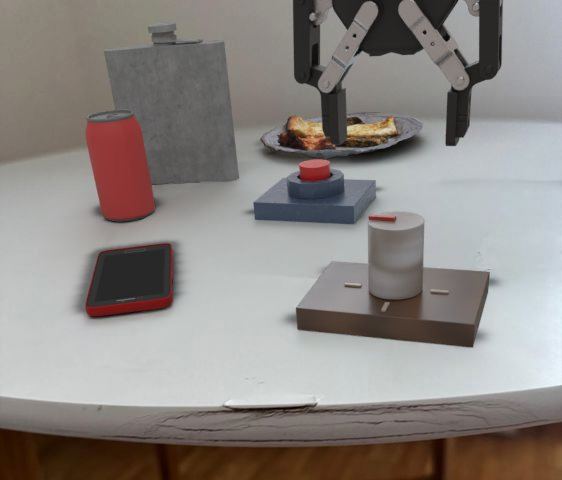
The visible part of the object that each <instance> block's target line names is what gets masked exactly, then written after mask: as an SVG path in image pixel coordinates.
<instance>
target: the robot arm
mask: <svg viewBox="0 0 562 480" xmlns="http://www.w3.org/2000/svg"><path fill="white" fill-rule="evenodd" d="M463 1H464V2H465V3H466V6H467V11H468V13H469V14H470V15H471V16H472V17H478V60H476V61H474V62H472V63H469V61H468V59H467V58H466V57H465V55H464V54H463V52H462V50H461V49H460V47H459V44H458V42H457V41H456V39H455V38H454V36H453V35H452V33H451V31H449V29H448V27H447V26H446V25H445V22H446V20H447V19H448V18H449V16H450V15H451V13H452V11H454V8H455V7H456V6H457V4H458V3H459V0H292V29H293V30H292V31H293V32H292V33H293V35H292V37H293V39H292V40H293V78H294V80H295V82H296V83H298V84H301V85H304V84H305V85H308V86H310V87H314V88H315V89H316V90H317V91H318V92H319V95H320V110H321V117H322V130H323V132H324V135H325V137H330V142H331V145H341V144H342V143H343V142H345V141H346V139H347V114H348V113H347V88H346V87H343V85H342V84H343V82H344V81H345V79H346V78H347V76H348V74H349V73H350V72H351V70H352V68H353V66H355V64H356V62H358V60H359V59H360V57H361V56H362V54H363V53H365V54H367V55H368V56H369V57H381V56H384V55H387V54H390V53H393V54H396V55H401V56H415V55H416V54H418V53H419V52H422V51H423V50H424V51H425V52H426V55H428V57H429V59H430V60H431V61H432V62H433V63H434V64H435V66H437V67H438V69H440V71H441V73H442V74H443V75H444V77H445V79H447V81H448V82H449V84H450V88H449V90H448V91H447V92H446V93H447V95H446V116H445V117H446V119H445V120H446V121H445V139H444V140H445V141H444V142H445V147H457V145H458V144H459V142H460V139H462V138H463V139H464V138H465V136H466V134H467V132H468V130H469V128H470V125H471V110H472V109H471V106H472V92H473V91H472V90H473V87H474V86H475V85H477V84H479V83H482V82H484V81H490V80H493V79H494V78H495V77H496V76H497V75H498V73H499V71H500V70H501V68H502V64H503V19H504V17H503V15H504V14H503V13H504V0H463ZM331 9H333V11H334V13H335V15H336V16H337V18H338V19H339V20H340V22H341V23H342V25H343V26H344V28H345V29H346V32H345V34H344V35H343V37H342V38H341V40H340V42H339V43H338V45H337V46H336V48H335V49H334V52H333V53H332V55H331V59H330V61H329V62H328V63H327V66H324V65H321V25H322V24H324V23H325V22H326V21H327V19H328V16H329V12H330V10H331Z"/></svg>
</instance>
